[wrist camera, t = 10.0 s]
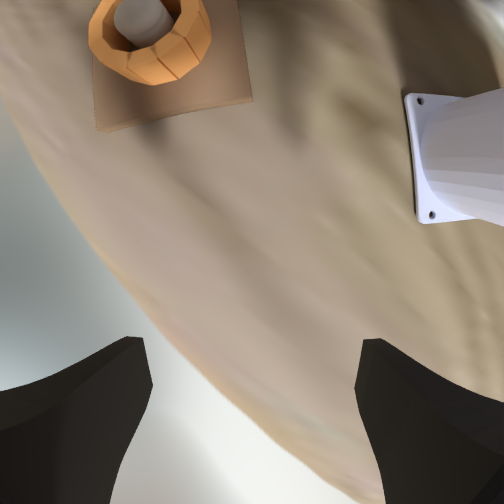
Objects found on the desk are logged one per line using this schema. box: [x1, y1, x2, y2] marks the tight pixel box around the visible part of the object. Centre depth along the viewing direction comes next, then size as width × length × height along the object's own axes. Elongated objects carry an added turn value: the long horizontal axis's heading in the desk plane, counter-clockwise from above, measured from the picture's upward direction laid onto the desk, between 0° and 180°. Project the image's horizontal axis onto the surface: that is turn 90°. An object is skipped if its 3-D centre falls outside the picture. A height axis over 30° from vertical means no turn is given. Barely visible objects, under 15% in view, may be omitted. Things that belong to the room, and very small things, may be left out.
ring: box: [88, 0, 212, 86], centre depth 12 cm, size 6×6×4 cm
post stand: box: [92, 0, 253, 133], centre depth 12 cm, size 9×9×6 cm
